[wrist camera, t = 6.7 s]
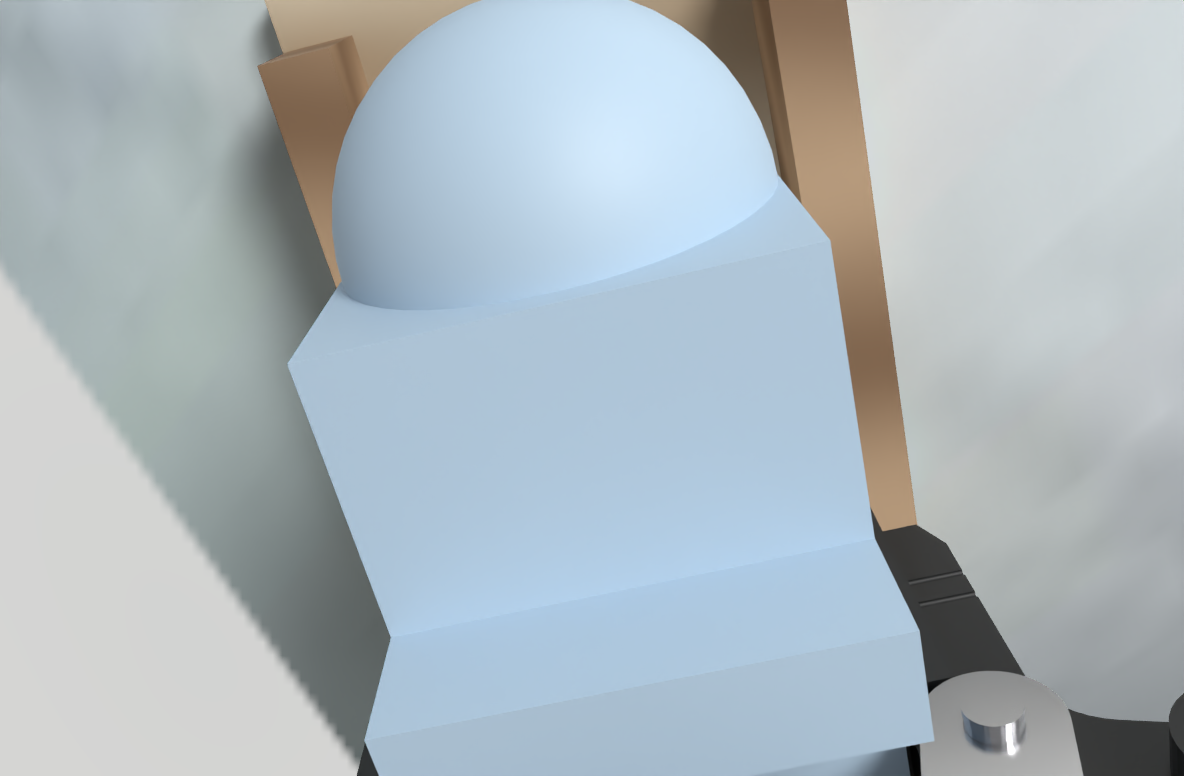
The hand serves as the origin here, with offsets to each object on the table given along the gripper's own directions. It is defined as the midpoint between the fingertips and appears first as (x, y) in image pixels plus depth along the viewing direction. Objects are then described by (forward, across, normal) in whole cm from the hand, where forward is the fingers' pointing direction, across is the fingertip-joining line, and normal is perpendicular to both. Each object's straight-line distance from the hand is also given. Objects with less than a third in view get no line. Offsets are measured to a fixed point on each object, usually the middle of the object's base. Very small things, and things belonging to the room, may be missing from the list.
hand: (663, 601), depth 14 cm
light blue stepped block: (0, 0, 0) cm, 1 cm away
